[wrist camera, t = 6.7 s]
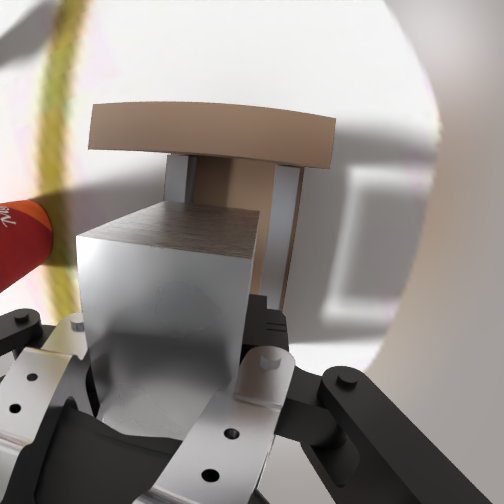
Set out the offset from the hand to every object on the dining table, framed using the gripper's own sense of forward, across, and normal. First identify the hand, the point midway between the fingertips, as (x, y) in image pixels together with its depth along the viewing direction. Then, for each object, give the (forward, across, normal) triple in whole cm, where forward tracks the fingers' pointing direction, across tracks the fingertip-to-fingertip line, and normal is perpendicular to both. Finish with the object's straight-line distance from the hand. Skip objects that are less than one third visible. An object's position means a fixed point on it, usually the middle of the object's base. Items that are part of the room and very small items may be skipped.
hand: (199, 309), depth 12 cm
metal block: (+1, 0, 0) cm, 1 cm away
